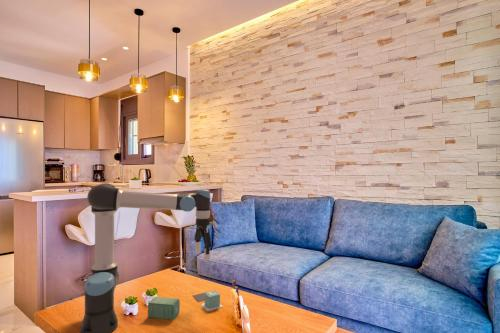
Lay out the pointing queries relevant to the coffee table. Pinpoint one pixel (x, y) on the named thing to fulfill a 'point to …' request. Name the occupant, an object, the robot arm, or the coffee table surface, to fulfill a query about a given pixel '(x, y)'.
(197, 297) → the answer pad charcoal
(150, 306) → the box
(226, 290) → the coffee table surface
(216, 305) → the letter cube
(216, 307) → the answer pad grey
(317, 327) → the coffee table surface
